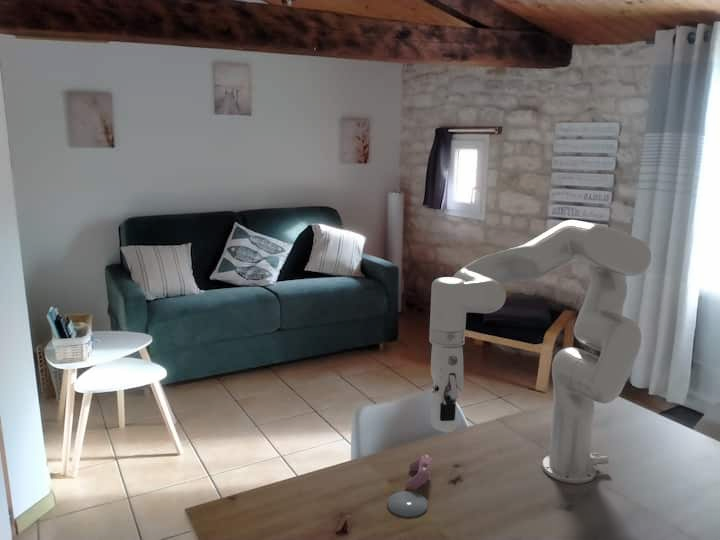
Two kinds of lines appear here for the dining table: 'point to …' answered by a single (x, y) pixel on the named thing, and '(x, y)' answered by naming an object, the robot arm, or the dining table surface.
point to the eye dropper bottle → (435, 413)
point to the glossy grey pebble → (407, 504)
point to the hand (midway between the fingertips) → (443, 413)
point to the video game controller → (420, 472)
